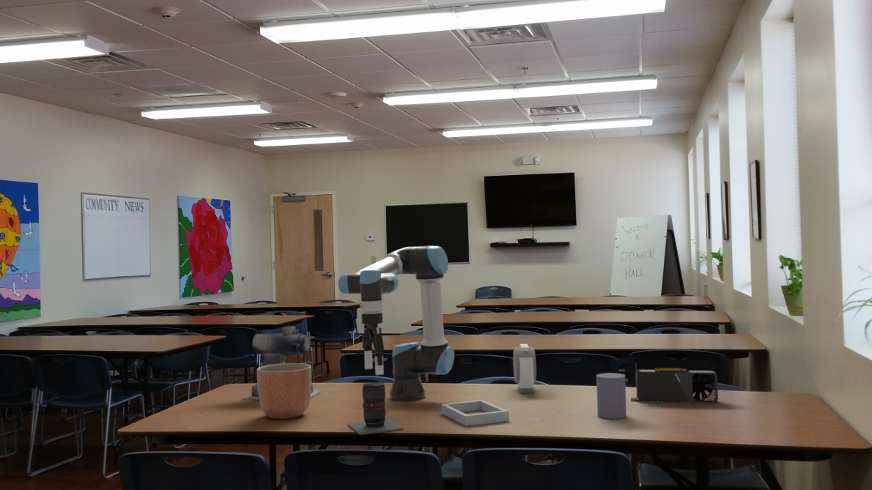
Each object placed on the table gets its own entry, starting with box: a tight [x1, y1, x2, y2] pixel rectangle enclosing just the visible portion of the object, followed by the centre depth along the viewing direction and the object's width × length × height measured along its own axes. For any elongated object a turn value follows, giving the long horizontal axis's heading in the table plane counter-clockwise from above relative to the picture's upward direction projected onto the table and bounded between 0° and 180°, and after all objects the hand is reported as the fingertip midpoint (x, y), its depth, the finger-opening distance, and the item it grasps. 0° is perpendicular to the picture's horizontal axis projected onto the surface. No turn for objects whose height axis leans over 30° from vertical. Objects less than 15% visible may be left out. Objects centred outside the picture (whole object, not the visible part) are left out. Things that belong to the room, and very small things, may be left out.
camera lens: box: [361, 381, 387, 428], centre depth 268 cm, size 8×8×15 cm
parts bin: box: [440, 399, 510, 427], centre depth 280 cm, size 23×17×4 cm
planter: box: [256, 362, 312, 420], centre depth 291 cm, size 21×21×19 cm
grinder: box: [241, 325, 323, 401], centre depth 334 cm, size 18×31×31 cm, turn 79°
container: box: [596, 372, 627, 420], centre depth 275 cm, size 10×10×15 cm
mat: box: [347, 418, 404, 436], centre depth 268 cm, size 16×16×1 cm
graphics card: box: [630, 364, 719, 404], centre depth 297 cm, size 33×5×14 cm, turn 76°
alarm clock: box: [512, 343, 537, 394], centre depth 329 cm, size 18×8×20 cm, turn 179°
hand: (374, 371), depth 268 cm, fingers open, 13 cm apart
